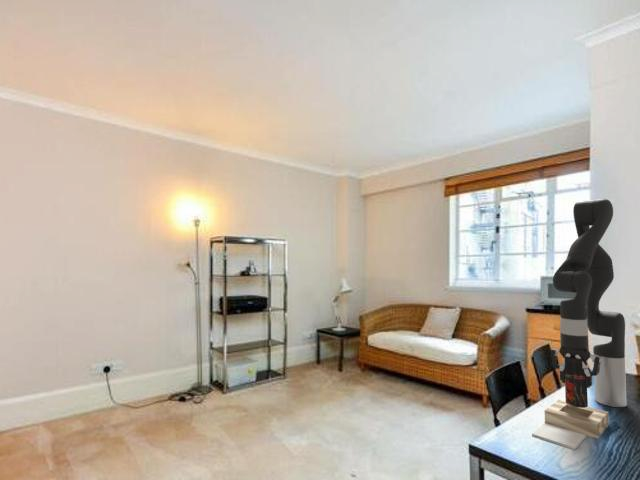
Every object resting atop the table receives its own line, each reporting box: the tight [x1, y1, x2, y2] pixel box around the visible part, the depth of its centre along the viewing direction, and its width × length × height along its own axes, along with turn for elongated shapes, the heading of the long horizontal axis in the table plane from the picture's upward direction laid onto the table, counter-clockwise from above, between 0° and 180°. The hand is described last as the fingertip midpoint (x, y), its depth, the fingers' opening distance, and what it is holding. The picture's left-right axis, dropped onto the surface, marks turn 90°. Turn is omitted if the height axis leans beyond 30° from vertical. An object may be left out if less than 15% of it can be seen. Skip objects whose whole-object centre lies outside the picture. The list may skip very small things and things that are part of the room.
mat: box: [531, 422, 587, 451], centre depth 112 cm, size 11×11×1 cm
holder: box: [544, 399, 610, 439], centre depth 121 cm, size 14×14×4 cm
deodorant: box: [563, 356, 589, 408], centre depth 121 cm, size 6×6×15 cm
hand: (575, 384), depth 121 cm, fingers closed on deodorant, 6 cm apart
